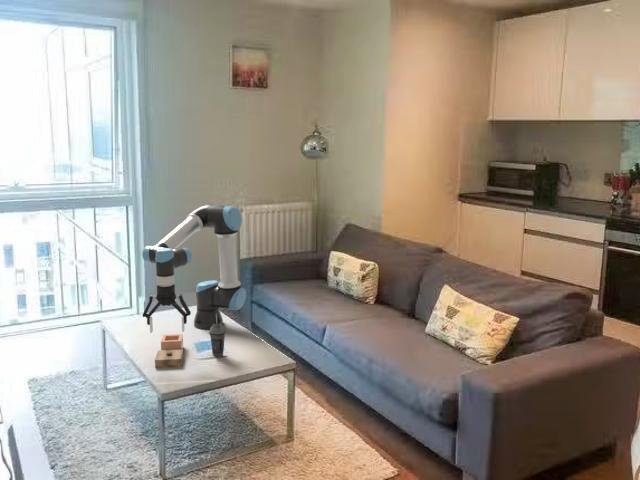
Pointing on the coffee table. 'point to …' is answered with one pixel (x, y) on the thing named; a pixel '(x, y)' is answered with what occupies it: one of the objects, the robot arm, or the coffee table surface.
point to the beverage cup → (217, 339)
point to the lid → (169, 358)
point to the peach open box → (172, 342)
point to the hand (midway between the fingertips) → (167, 331)
